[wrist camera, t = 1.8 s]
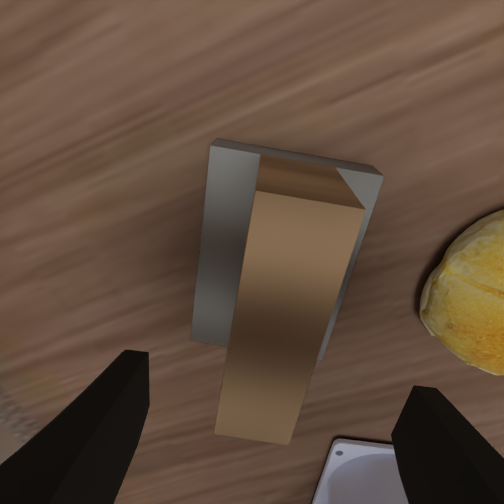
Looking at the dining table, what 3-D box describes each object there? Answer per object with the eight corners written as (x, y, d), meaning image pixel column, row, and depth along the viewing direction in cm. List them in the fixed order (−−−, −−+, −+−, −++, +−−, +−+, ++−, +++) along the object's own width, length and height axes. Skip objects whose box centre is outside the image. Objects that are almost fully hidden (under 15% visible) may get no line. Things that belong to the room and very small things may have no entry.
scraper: (317, 336, 20) (338, 453, 14) (197, 317, 20) (163, 426, 14) (371, 165, 16) (438, 222, 9) (217, 138, 15) (180, 177, 9)
